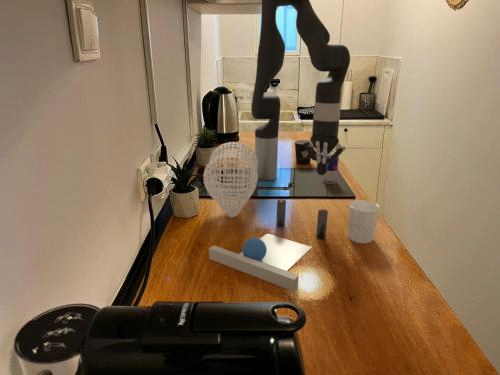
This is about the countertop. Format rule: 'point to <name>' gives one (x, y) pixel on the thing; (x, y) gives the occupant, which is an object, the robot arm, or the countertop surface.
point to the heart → (212, 178)
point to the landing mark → (282, 252)
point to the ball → (254, 249)
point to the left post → (281, 213)
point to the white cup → (362, 221)
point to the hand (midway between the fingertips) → (321, 174)
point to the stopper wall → (254, 267)
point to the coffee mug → (302, 153)
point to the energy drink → (331, 171)
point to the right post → (321, 224)
